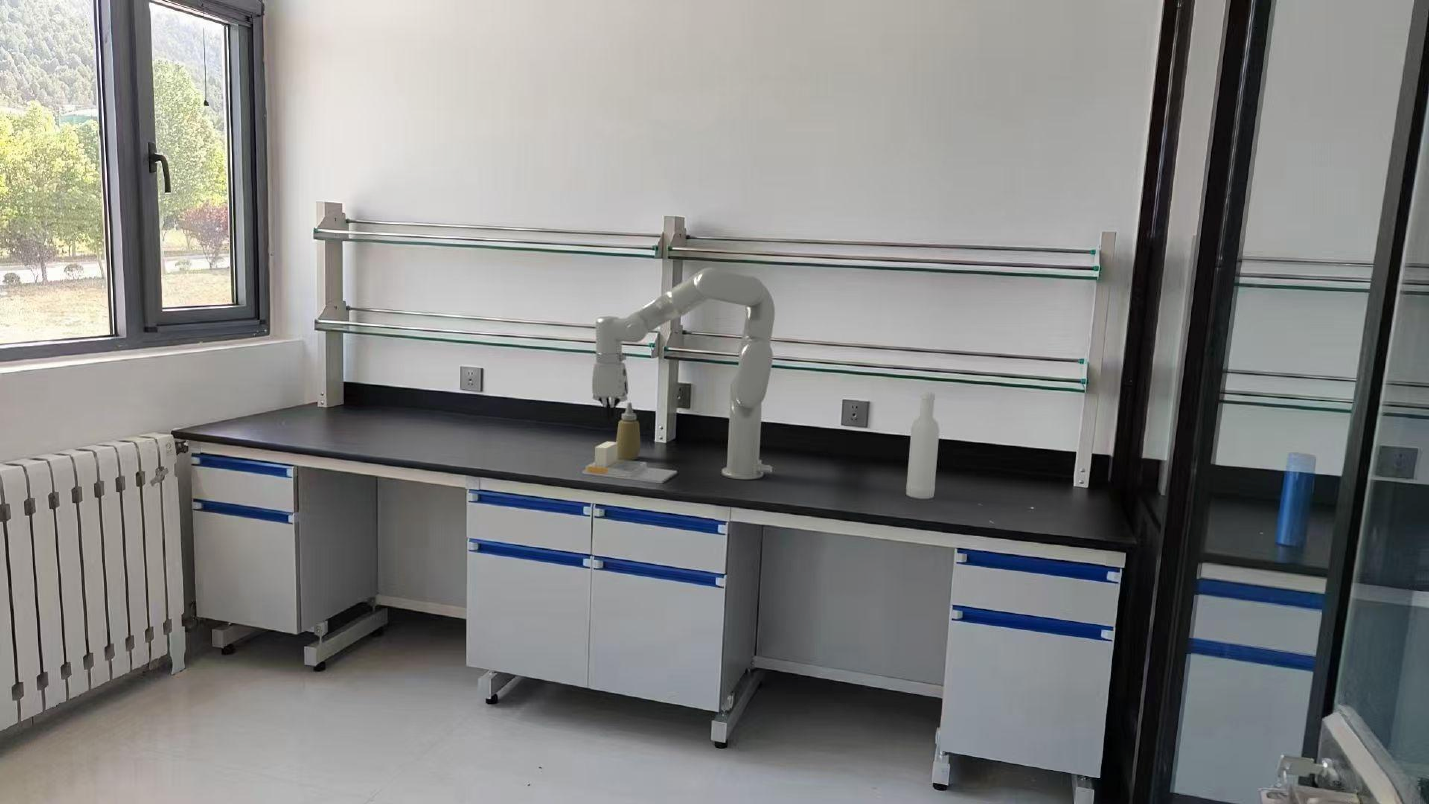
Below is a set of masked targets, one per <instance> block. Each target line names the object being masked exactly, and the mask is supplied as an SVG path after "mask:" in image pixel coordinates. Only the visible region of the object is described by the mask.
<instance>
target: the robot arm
mask: <svg viewBox="0 0 1429 804" xmlns="http://www.w3.org/2000/svg"><path fill="white" fill-rule="evenodd" d="M709 300H714V301H720V302H724V303H730V304H736V305H740V306H744V309H745V317H744V318H745V319H744V323H743V324H744V326H743V331H742V336H741V340H740V344H739V346H738V358H739V359H738V365H737V371H736V374H735V375H734V376H733V378H732V379H731V382H730V387H729V418H728V420H729V422H728V443H727V460H726V461H727V464H726V467H724V468H721V475H723V476H724V477H725V478H726V477H727V478H731V479H735V480H756V479H760V478H762V477H764V473H768V474H769V473H770V474H771V473H772V472H773V466H771V465H769V464H764V463H762V459H760V446H761V426H762V406H763V405H762V402H763V401H764V399H765V397H766V394H767V391H768V385H769V380H770V376H771V371H772V365H773V360H774V359H773V358H774V356H773V349H772V347H771V341H772V337H773V330H774V323H775V314H776V312H775V310H776V308H775V303H774V299H773V297H772V295H771V293H770V291H769V289H768V288H767V287H766V286H765V285H764V284H763V281H761V280H760V279H759V278H757V277H755V276H754V275H750V274H745V275H744V274H739V273H733V272H729V271H724V270H720V269H716V268H714V267H706V268H703V269H701V270H699V271H697V272H696V273H694V274H693V275H691V276H690V277H688V278H687V279H685V280H683V281H682V282H680V283H678V284H677V285H675V286H673V287H671V288H670V289H668V290H667V291H666V292H664V293H662V294H661V295H660V296H658V297H657V298H655V299H654V300H652V301H651V302H649V303H648V304H646V305H644V306H642V307H641V308H639V309H638V310H636V311H635V312H633V313H631V314H630V315H628V316H627V317H624V318H620V317H618V316H600V317H597V318H596V319H595V348H596V349H595V351H596V353H595V354H596V355H595V356H596V359H595V361H596V362H595V363H594V366H593V371H592V380H591V381H592V382H591V385H592V386H591V391H592V400H594V401H598V402H599V403H600V404H601V405H602V407H604V417H605V421H609V422H610V421H611V422H612V421H614V420H615V419H616V417H617V406H618V405H619V404H620V403H622V402H626V401H627V400H628V394H629V380H628V371H627V366H626V363H625V362H623V361H625V360H627V356H626V355H624V354H623V350H622V349H623V347H622V346H623V343H622V342H625V343H639V342H641V341H643V340H644V339H645V338H646V336H647V334H649V333H651V332H652V331H654V330H655V329H657V328H658V327H660V326H662V325H664V324H666V323H667V322H668V323H669V322H670V321H672V320H676V319H679V318H681V317H684V316H685V315H687V314H688V313H690V312H691V311H693V310H695V309H696V308H698V307H700V306H701V305H702V304H704V303H706V302H708V301H709Z"/></svg>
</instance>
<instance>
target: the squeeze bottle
mask: <svg viewBox="0 0 1429 804" xmlns="http://www.w3.org/2000/svg"><path fill="white" fill-rule="evenodd" d="M617 425H618V426H617V433H616V441H615V442H617V443H618V452H617V458H618V459H621V460H630V461H635V460H636V459H638V455H639V453H640V451H641V448H642V446H641V431H640V422H639V421H638V420H637V414H636V413H634V410H633V405H632V402H627V403H626V408H625V411H624V413H621V420H619V421H618V424H617Z"/></svg>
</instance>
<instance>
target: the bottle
mask: <svg viewBox="0 0 1429 804" xmlns="http://www.w3.org/2000/svg"><path fill="white" fill-rule="evenodd" d="M935 399H936V396H935V393H934V392H933V391H932V392H931V391H922V392H921V395H920V409H919V416H918V417H917V418H916V419H914V421H913V423H912V425H911V427H910V441H909V443H910V444H909V454H908V456H909V457H908V466H907V479H906V486H905V487H906V488H905V489H906V491H905V492H906V493H905V494H906V495H907V496H908V497H909V498H912V499H913V498H914V499H920V500H929V499H932V498H934V497H935V490H936V471H937V461H938V449H939V438H940V429H939V424H938V422H937V421H936V419H935V418H934V410H935V409H934V408H935V407H934V406H935Z"/></svg>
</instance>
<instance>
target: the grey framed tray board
mask: <svg viewBox="0 0 1429 804" xmlns="http://www.w3.org/2000/svg"><path fill="white" fill-rule="evenodd" d="M647 465H648V462H646V461H637V460H623V459H619V458H617V464H615V465H613V466H611V467H609V468H603V467H595V461H593V462H591V463H589V464H587V465H585V469H583V470H582V475H590V476H595V477H596V476H598V477H604V478H605V477H606V478H613V479H622V480H629V481H630V480H631V481H638V482H644V483H645V482H646V483H654V484H655V483H656V484H663V483H665V482H666V481H668V480H669V479H671V478H673V477H674V476H675V475H677V474H678V473H677V470H671V469H663V468H655V467H648V466H647Z"/></svg>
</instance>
